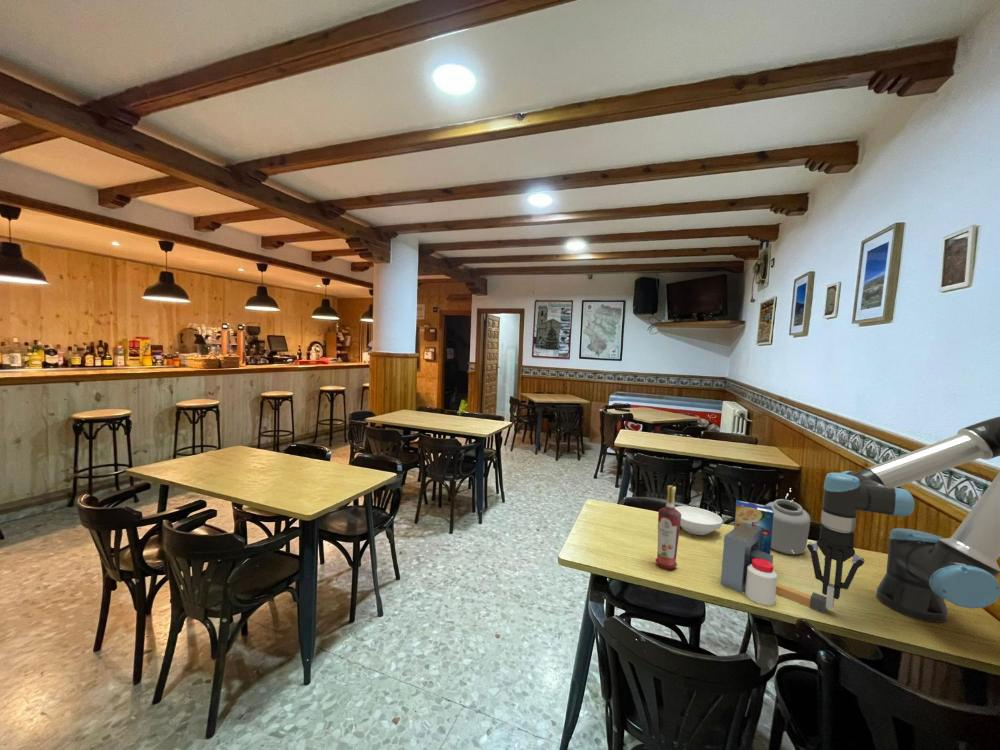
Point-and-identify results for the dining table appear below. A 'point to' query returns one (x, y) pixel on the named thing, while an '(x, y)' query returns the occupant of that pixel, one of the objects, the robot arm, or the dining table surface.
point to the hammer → (812, 601)
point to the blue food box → (756, 519)
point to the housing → (739, 554)
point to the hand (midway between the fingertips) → (829, 607)
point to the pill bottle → (761, 582)
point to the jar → (789, 527)
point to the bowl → (698, 520)
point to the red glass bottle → (668, 531)
